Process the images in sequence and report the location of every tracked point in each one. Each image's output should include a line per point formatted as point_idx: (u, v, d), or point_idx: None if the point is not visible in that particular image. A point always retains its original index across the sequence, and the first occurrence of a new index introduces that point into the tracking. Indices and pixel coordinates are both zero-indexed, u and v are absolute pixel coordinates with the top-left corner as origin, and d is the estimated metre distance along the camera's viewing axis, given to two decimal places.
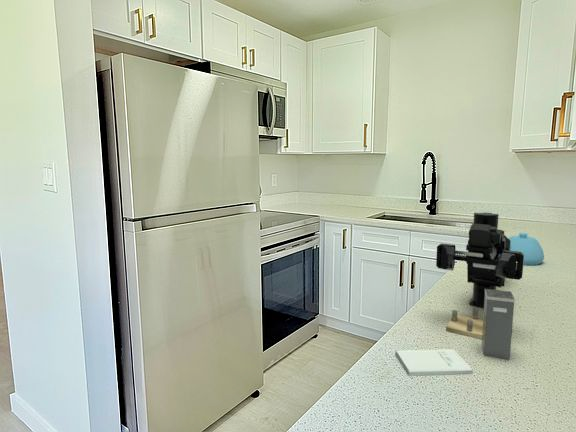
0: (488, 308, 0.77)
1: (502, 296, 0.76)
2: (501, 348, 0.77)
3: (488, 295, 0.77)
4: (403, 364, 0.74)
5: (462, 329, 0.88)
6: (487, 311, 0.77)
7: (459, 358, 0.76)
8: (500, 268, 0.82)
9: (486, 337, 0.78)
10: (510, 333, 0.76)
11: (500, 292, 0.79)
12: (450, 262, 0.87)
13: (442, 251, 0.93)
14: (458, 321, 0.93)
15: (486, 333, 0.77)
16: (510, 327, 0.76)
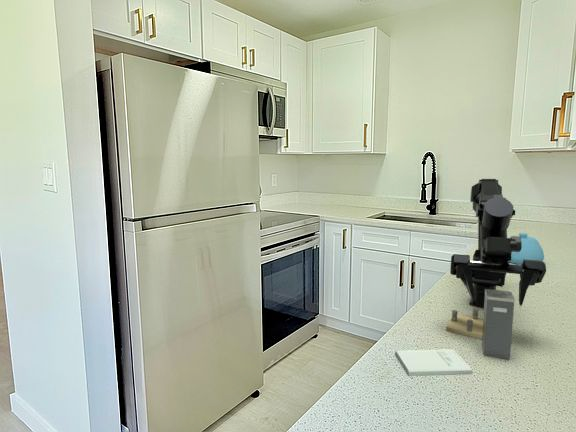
0: (488, 308, 0.77)
1: (502, 296, 0.76)
2: (501, 348, 0.77)
3: (488, 295, 0.77)
4: (403, 364, 0.74)
5: (462, 329, 0.88)
6: (487, 311, 0.77)
7: (459, 358, 0.76)
8: None
9: (486, 337, 0.78)
10: (510, 333, 0.76)
11: (500, 292, 0.79)
12: (472, 294, 0.83)
13: (458, 268, 0.86)
14: (458, 321, 0.93)
15: (486, 333, 0.77)
16: (510, 327, 0.76)
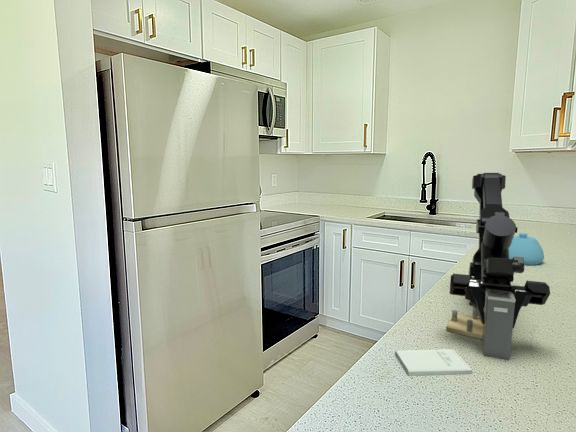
0: (489, 308, 0.77)
1: (502, 296, 0.76)
2: (501, 348, 0.77)
3: (489, 295, 0.77)
4: (403, 364, 0.74)
5: (462, 329, 0.88)
6: (488, 311, 0.77)
7: (458, 358, 0.76)
8: (516, 318, 0.77)
9: (486, 337, 0.78)
10: (510, 333, 0.76)
11: (501, 292, 0.79)
12: (483, 318, 0.78)
13: (467, 290, 0.82)
14: (458, 321, 0.93)
15: (486, 333, 0.77)
16: (511, 327, 0.75)
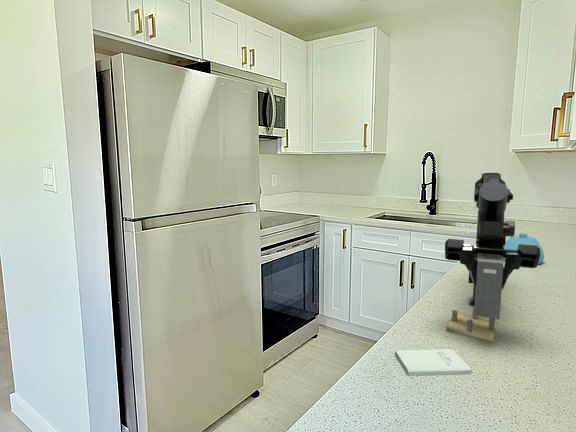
0: (479, 270, 0.80)
1: (492, 258, 0.79)
2: (491, 308, 0.80)
3: (479, 257, 0.80)
4: (402, 364, 0.74)
5: (462, 329, 0.88)
6: (478, 273, 0.80)
7: (458, 358, 0.76)
8: (506, 279, 0.80)
9: (477, 298, 0.81)
10: (500, 293, 0.79)
11: (492, 255, 0.82)
12: (474, 280, 0.82)
13: (461, 254, 0.85)
14: (458, 321, 0.93)
15: (477, 294, 0.81)
16: (500, 288, 0.79)
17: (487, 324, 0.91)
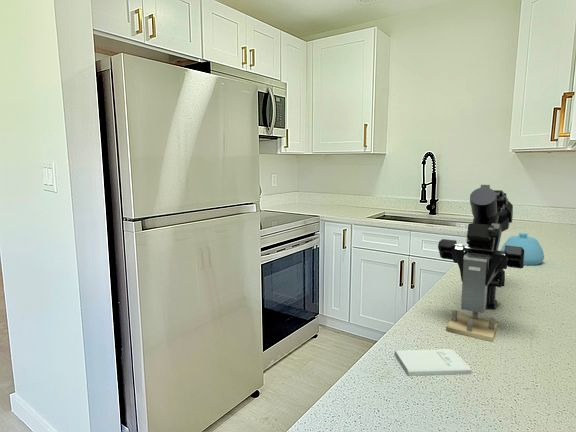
0: (464, 267, 0.88)
1: (477, 257, 0.87)
2: (476, 303, 0.88)
3: (465, 256, 0.88)
4: (402, 364, 0.74)
5: (462, 329, 0.88)
6: (464, 270, 0.88)
7: (458, 358, 0.76)
8: (491, 276, 0.87)
9: (463, 293, 0.89)
10: (483, 289, 0.86)
11: (479, 254, 0.89)
12: (462, 277, 0.90)
13: (452, 253, 0.93)
14: (458, 321, 0.93)
15: (463, 289, 0.89)
16: (483, 284, 0.86)
17: (487, 324, 0.91)
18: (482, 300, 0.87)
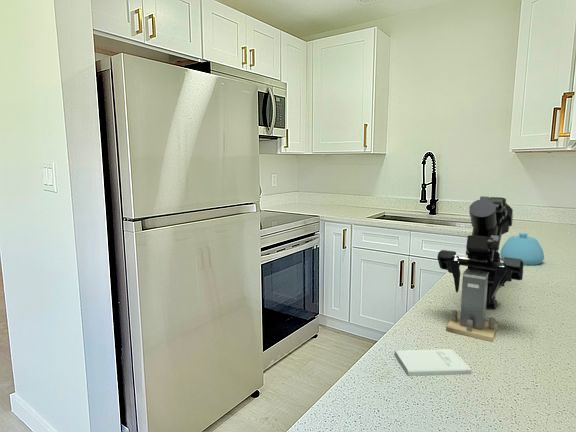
0: (463, 284, 0.89)
1: (476, 274, 0.88)
2: (474, 320, 0.88)
3: (464, 273, 0.89)
4: (402, 364, 0.74)
5: (462, 329, 0.88)
6: (463, 286, 0.89)
7: (458, 358, 0.76)
8: (495, 289, 0.87)
9: (462, 309, 0.90)
10: (482, 306, 0.87)
11: (478, 271, 0.90)
12: (456, 287, 0.91)
13: (447, 263, 0.94)
14: (458, 321, 0.93)
15: (462, 306, 0.90)
16: (482, 301, 0.87)
17: (487, 324, 0.91)
18: (481, 317, 0.87)
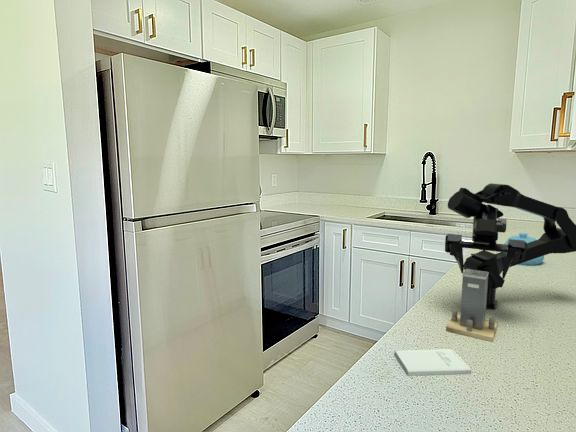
0: (463, 284, 0.89)
1: (476, 274, 0.88)
2: (474, 320, 0.88)
3: (464, 273, 0.89)
4: (402, 364, 0.74)
5: (462, 329, 0.88)
6: (463, 286, 0.89)
7: (458, 358, 0.76)
8: (507, 270, 0.92)
9: (462, 309, 0.90)
10: (482, 306, 0.87)
11: (478, 271, 0.90)
12: (462, 268, 0.95)
13: (451, 246, 0.99)
14: (458, 321, 0.93)
15: (462, 306, 0.89)
16: (482, 301, 0.87)
17: (487, 324, 0.91)
18: (481, 317, 0.87)
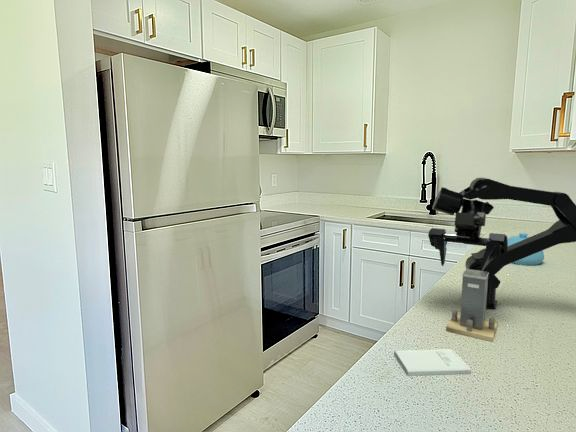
0: (463, 284, 0.89)
1: (476, 274, 0.88)
2: (474, 320, 0.88)
3: (464, 273, 0.89)
4: (402, 364, 0.74)
5: (462, 329, 0.88)
6: (463, 286, 0.89)
7: (458, 358, 0.76)
8: (485, 263, 0.93)
9: (462, 309, 0.90)
10: (482, 306, 0.87)
11: (478, 271, 0.90)
12: (442, 261, 0.98)
13: (433, 240, 1.01)
14: (458, 321, 0.93)
15: (462, 306, 0.89)
16: (482, 301, 0.87)
17: (487, 324, 0.91)
18: (481, 317, 0.87)
